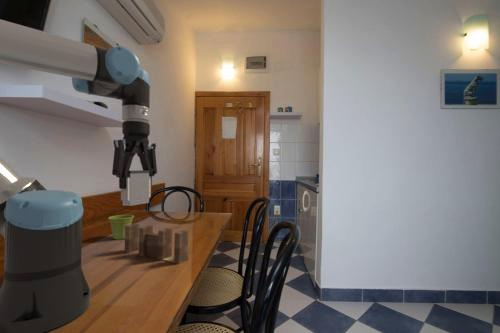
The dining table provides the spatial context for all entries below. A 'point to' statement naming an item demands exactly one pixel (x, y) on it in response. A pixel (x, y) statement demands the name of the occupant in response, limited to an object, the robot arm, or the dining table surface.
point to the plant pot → (120, 225)
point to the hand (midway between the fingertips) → (136, 198)
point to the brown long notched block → (156, 243)
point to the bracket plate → (138, 187)
